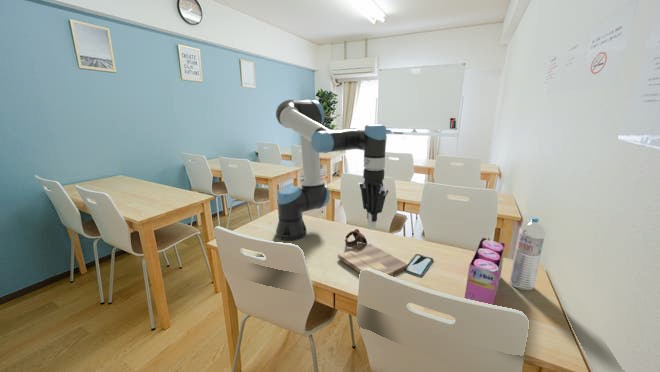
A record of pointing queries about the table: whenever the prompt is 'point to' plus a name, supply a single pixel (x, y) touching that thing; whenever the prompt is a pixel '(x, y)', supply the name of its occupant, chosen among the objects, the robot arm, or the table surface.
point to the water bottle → (527, 255)
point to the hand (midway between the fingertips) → (371, 228)
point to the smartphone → (418, 265)
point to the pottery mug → (357, 236)
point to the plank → (362, 261)
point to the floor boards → (384, 258)
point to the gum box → (485, 271)
